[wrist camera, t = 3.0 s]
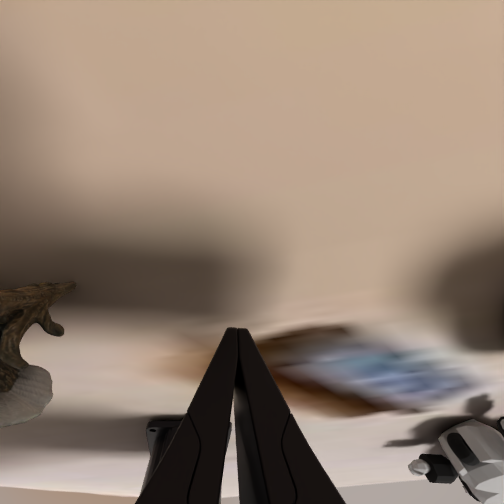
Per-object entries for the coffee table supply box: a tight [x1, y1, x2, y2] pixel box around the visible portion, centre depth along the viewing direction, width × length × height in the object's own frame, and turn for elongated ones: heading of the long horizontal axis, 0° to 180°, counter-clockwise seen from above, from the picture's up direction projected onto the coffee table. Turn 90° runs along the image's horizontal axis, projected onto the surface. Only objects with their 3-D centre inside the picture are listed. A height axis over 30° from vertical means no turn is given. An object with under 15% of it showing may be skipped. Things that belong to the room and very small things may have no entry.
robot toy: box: [408, 417, 504, 504], centre depth 20 cm, size 12×4×15 cm
